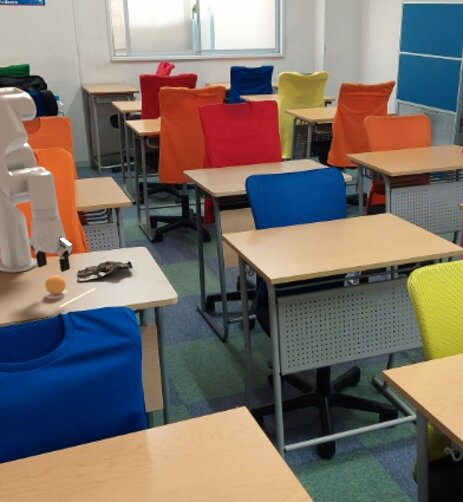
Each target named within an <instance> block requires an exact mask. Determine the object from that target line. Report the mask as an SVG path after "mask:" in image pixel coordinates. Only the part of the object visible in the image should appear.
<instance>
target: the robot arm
mask: <svg viewBox="0 0 463 502" xmlns="http://www.w3.org/2000/svg"><path fill="white" fill-rule="evenodd" d="M36 116H37V106H36V103H35V101H34V99H33V97H32V96H31V95H30V94H29V93H28V92H26V91H24V90H22V89H20V88H18V87H15V86H14V87H13V86H9V87H0V261H1V263H0V271H1V272H3V273H9V274H10V273H12V274H13V273H21V272H22V273H23V272H26V271H29V270H32V269H34V268H35V267H36V266H37V267H38V268H42V267H45V266H47V265H48V262H47V255H46V254H47V253H49V254H57V255H58V257H59V259H58V261H59V269H60V271H61V272H62V273H64V272H66V271H68V270H70V268H71V266H70V259H69V258H70V256H71V254H72V249H73V246H74V245H73V244H72V243H71V242H69V241H68V240H67V239H66V234H65V230H64V229H65V228H64V226H63V222H62V219H61V217H60V211H59V206H58V198H57V194H56V193H57V192H56V187H55V178H54V175H53V173H52V172H51V171H49V170H47V169H46V168H45V167H43V166H38V163H37V159H36V156H35V153H34V150H33V148H32V147H31V145H30V144H29V143H28V141H29V135H28V132H27V130H26V128H25V126H24V123H23V122H24V121H31V120H34V119H35V118H36ZM28 202H29V204H30V210H31V211H30V212H31V215H32V218H31V219H30V235H31V237H29V233H28V227H27V219H26V216H25V214H24V212H22V211H21V210H20V208H18V207H17V205H20V204H24V203H28ZM31 250H32V251H33V255H35V258H34V257H32V252H31Z"/></svg>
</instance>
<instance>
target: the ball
mask: <svg viewBox="0 0 463 502" xmlns="http://www.w3.org/2000/svg"><path fill="white" fill-rule="evenodd" d="M65 280H66V279H65V278H63V277H62V276H60V275H59V274H54V275H51V276H49V277H47V279H46V280H45V283H44V286H45V289H46V291H47V292H49V293H51V294H53V295H57V294H60V293H62V292H63V291H64V290H66V285H67V284H66V281H65Z"/></svg>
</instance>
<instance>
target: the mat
mask: <svg viewBox="0 0 463 502" xmlns="http://www.w3.org/2000/svg"><path fill="white" fill-rule="evenodd" d="M95 290H96V288H95V287H94V288H91V289H90V290H87V291H86V292H84V293H81V294H80V295H79V296H76V297H75V298H73V299H70V300H68V301H67V302H65V303H63V304H61V305H59V306H58V307H59V308H62V307H64V306H67V305H69V304H71V303H72V302H74V301H77V300H78V299H81V298H82V297H84V296H86V295H87V294H90V293H91V292H93V291H95ZM68 294H69V291H68V290H67V289H64V291H63V292H62V293H60V294H57V295H53V294H51V293H49V292H48V291H47V292H46V293H45V294H44V296H45V298H46V299H50V300H51V299H60V298H64V297H66V296H68Z"/></svg>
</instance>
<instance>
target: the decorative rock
mask: <svg viewBox="0 0 463 502" xmlns="http://www.w3.org/2000/svg"><path fill="white" fill-rule="evenodd" d="M124 269H133V265H132V262H131V261H130V260H128V262H122V261H113V260H112V261H111V260H110V261H109V260H106V261H104V262H100V263H99V264H98V265H91V266H88V267H85V268H84V269H82V270H78V272H77V273H76V274H77V275H79V276H78V277H77V280H76V281H78V282H79V281H80V280H83V282H87V281H91V280H100V279H102V278H105V277H107V276H110V275H111V274H112V272H113V271H119V270H124ZM101 273H103V274H104V275H102V274H101ZM92 276H94V277H93V278H91V277H92Z"/></svg>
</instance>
